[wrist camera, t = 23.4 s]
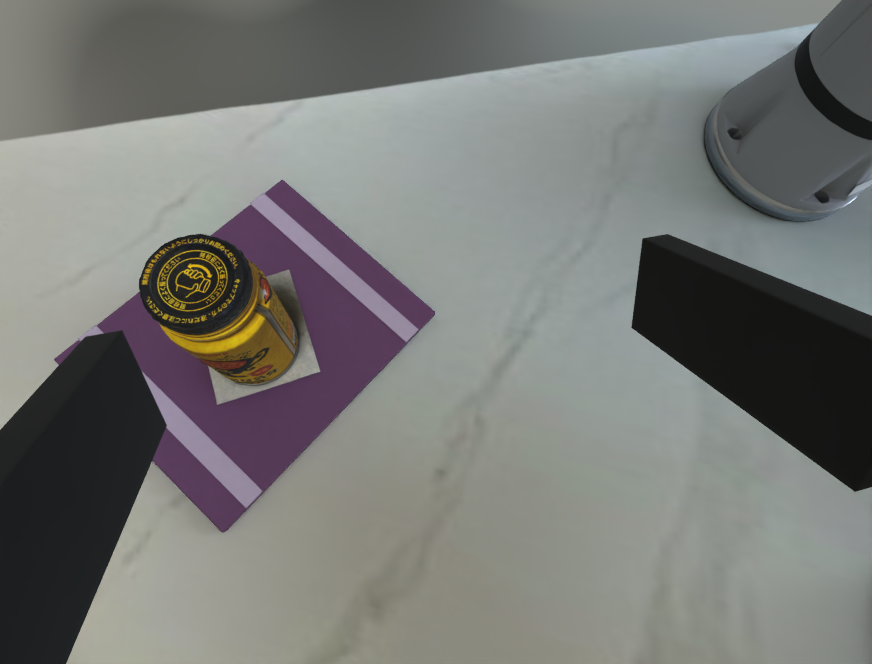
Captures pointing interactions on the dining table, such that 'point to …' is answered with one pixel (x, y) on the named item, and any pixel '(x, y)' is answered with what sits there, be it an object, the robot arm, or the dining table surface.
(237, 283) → the condiment
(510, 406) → the dining table surface
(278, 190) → the towel
